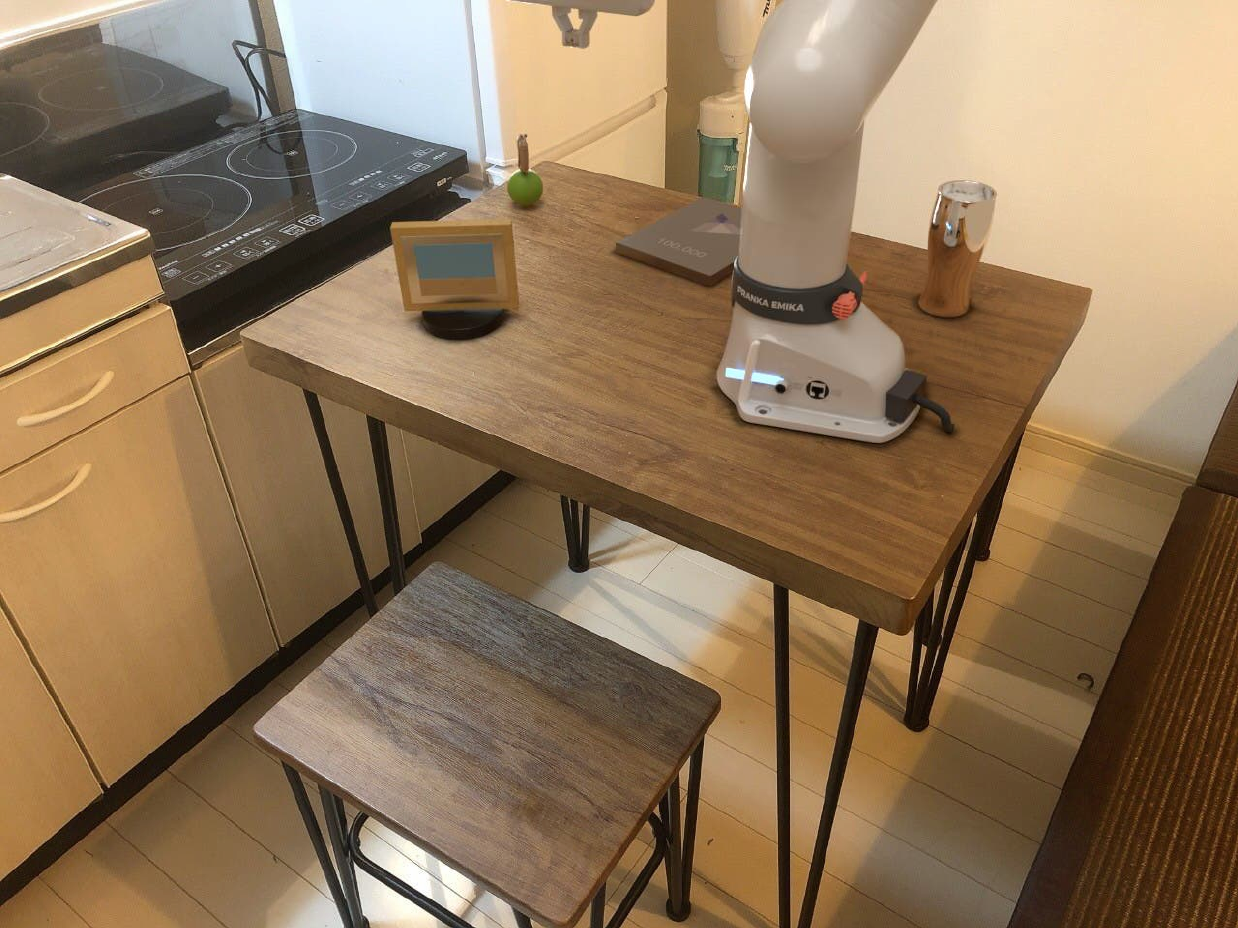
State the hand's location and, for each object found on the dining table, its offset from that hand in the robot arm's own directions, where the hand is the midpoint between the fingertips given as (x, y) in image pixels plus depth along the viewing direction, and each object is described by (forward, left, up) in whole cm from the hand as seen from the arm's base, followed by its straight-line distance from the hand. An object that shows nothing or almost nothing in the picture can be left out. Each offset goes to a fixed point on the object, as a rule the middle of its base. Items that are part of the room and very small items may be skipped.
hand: (576, 46), depth 118 cm
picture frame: (+4, +23, -25) cm, 35 cm away
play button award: (-14, -10, -27) cm, 32 cm away
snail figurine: (+16, -10, -28) cm, 33 cm away
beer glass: (-48, -7, -27) cm, 56 cm away
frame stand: (+4, +23, -27) cm, 36 cm away
